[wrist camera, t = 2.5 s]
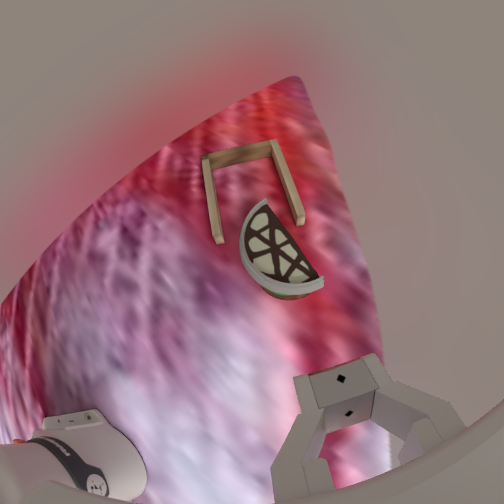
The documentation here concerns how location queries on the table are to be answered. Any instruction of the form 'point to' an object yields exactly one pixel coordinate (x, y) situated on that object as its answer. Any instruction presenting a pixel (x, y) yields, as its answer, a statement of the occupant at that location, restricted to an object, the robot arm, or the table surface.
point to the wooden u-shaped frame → (241, 156)
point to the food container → (275, 256)
